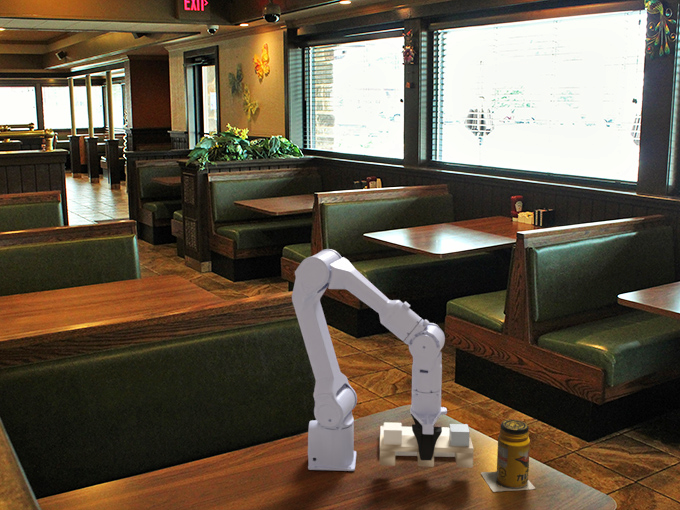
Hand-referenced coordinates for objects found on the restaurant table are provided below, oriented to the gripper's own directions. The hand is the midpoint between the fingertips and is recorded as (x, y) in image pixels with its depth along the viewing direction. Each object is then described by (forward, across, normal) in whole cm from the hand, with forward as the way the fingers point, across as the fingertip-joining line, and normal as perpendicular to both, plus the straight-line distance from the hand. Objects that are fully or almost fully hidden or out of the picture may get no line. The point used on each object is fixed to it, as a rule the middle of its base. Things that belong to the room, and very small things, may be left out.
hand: (425, 452), depth 138 cm
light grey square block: (-2, 0, -7) cm, 7 cm away
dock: (+5, +14, 0) cm, 14 cm away
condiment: (+5, -1, -16) cm, 17 cm away
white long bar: (+2, 0, 0) cm, 2 cm away
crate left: (-2, 0, +6) cm, 7 cm away
